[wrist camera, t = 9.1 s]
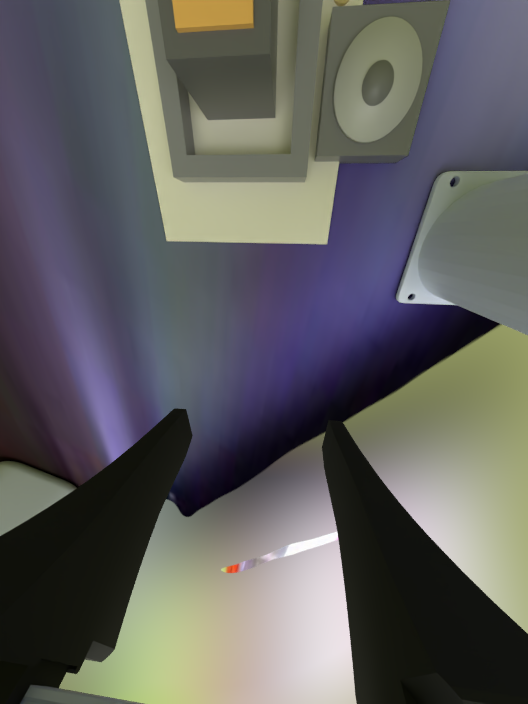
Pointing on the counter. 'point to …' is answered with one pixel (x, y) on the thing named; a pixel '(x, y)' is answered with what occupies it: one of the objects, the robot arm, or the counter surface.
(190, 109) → the board
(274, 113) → the plug
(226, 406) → the counter surface
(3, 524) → the plastic bottle
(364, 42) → the fan housing
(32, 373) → the counter surface
